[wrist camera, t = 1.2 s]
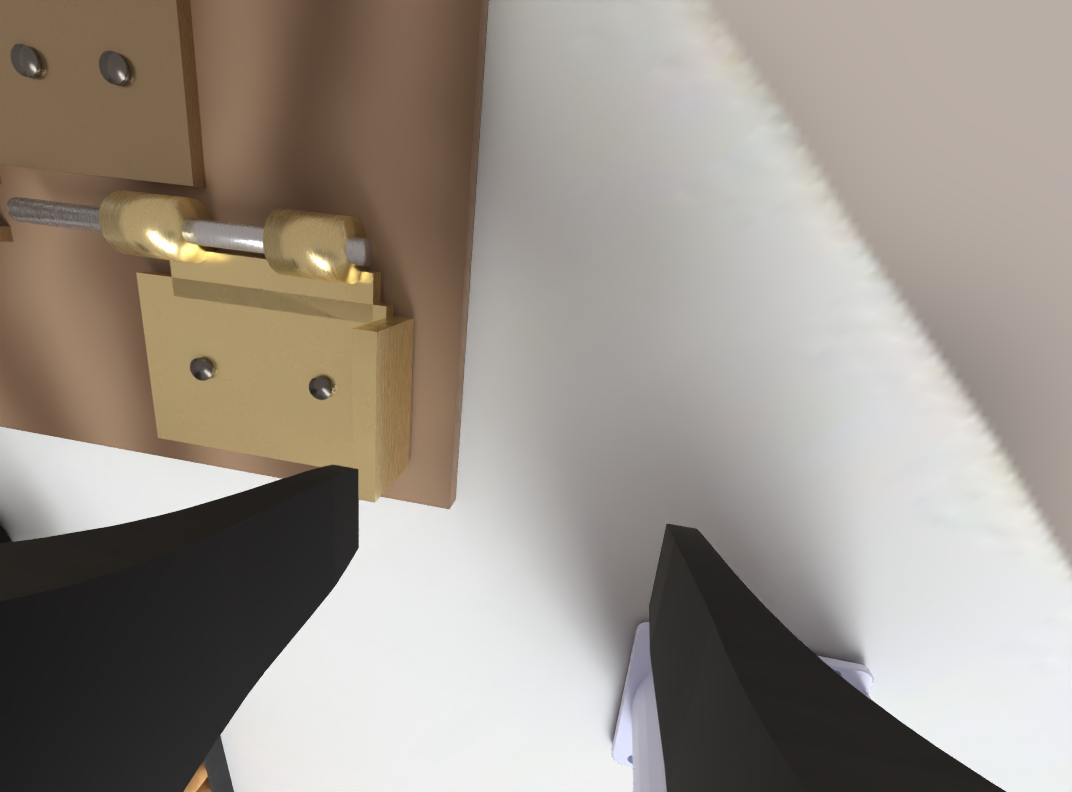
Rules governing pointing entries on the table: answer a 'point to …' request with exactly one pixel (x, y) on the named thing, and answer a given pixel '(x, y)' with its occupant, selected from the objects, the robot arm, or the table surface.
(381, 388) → the leaf
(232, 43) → the plank
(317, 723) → the table surface
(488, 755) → the table surface
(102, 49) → the hinge base
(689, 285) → the table surface
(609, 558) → the table surface
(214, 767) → the ammunition clip
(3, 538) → the mug
